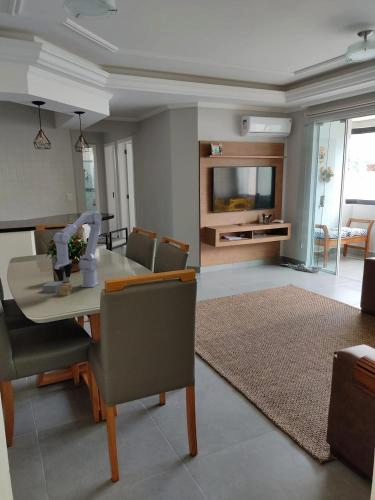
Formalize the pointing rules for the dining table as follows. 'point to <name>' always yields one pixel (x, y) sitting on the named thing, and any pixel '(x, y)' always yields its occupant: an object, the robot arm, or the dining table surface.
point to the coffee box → (65, 279)
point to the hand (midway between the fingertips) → (64, 278)
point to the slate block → (51, 286)
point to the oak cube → (65, 289)
